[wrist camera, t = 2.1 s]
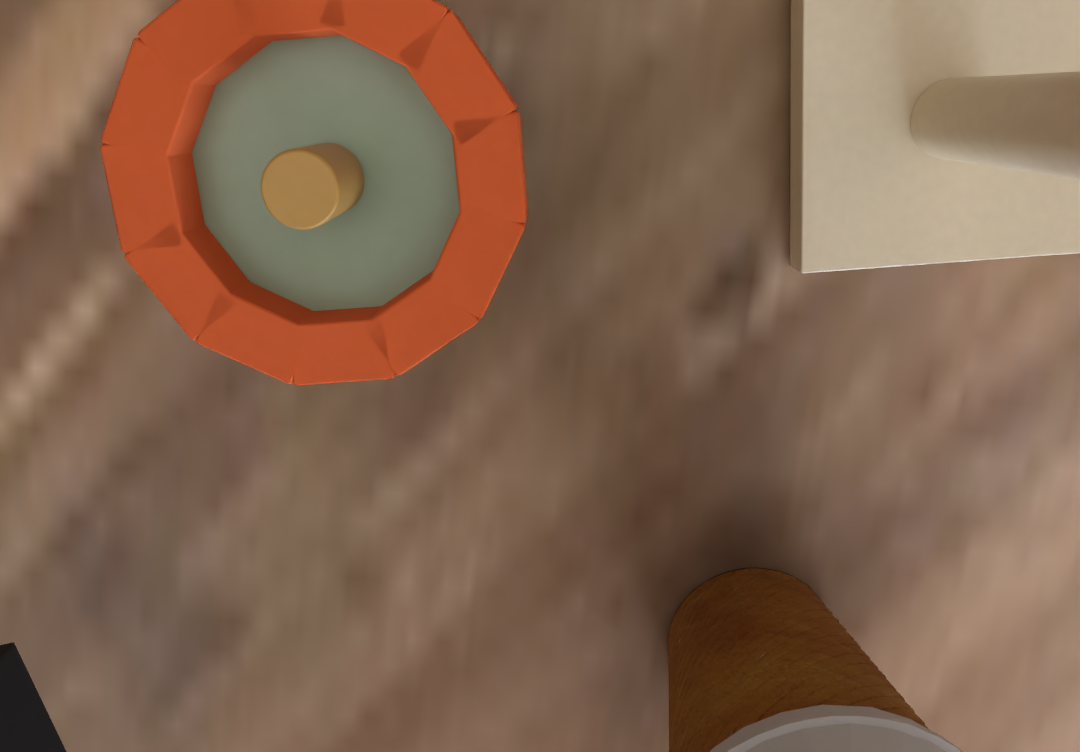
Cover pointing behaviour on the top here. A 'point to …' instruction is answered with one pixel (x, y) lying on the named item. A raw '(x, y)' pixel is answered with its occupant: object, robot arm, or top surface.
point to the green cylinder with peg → (326, 173)
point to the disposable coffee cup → (779, 676)
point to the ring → (203, 264)
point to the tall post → (933, 131)
